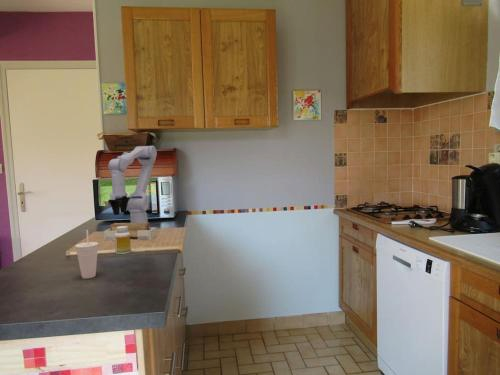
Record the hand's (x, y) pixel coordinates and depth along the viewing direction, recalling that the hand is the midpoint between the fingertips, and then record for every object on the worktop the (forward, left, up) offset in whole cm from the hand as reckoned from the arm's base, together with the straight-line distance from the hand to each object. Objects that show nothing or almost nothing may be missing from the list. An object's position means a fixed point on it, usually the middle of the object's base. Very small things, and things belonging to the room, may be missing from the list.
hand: (120, 213), depth 163 cm
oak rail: (+9, +8, -8) cm, 14 cm away
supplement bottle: (+33, +15, -10) cm, 38 cm away
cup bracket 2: (+9, +15, -10) cm, 20 cm away
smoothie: (+60, +16, -10) cm, 63 cm away
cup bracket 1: (+9, +1, -10) cm, 13 cm away
